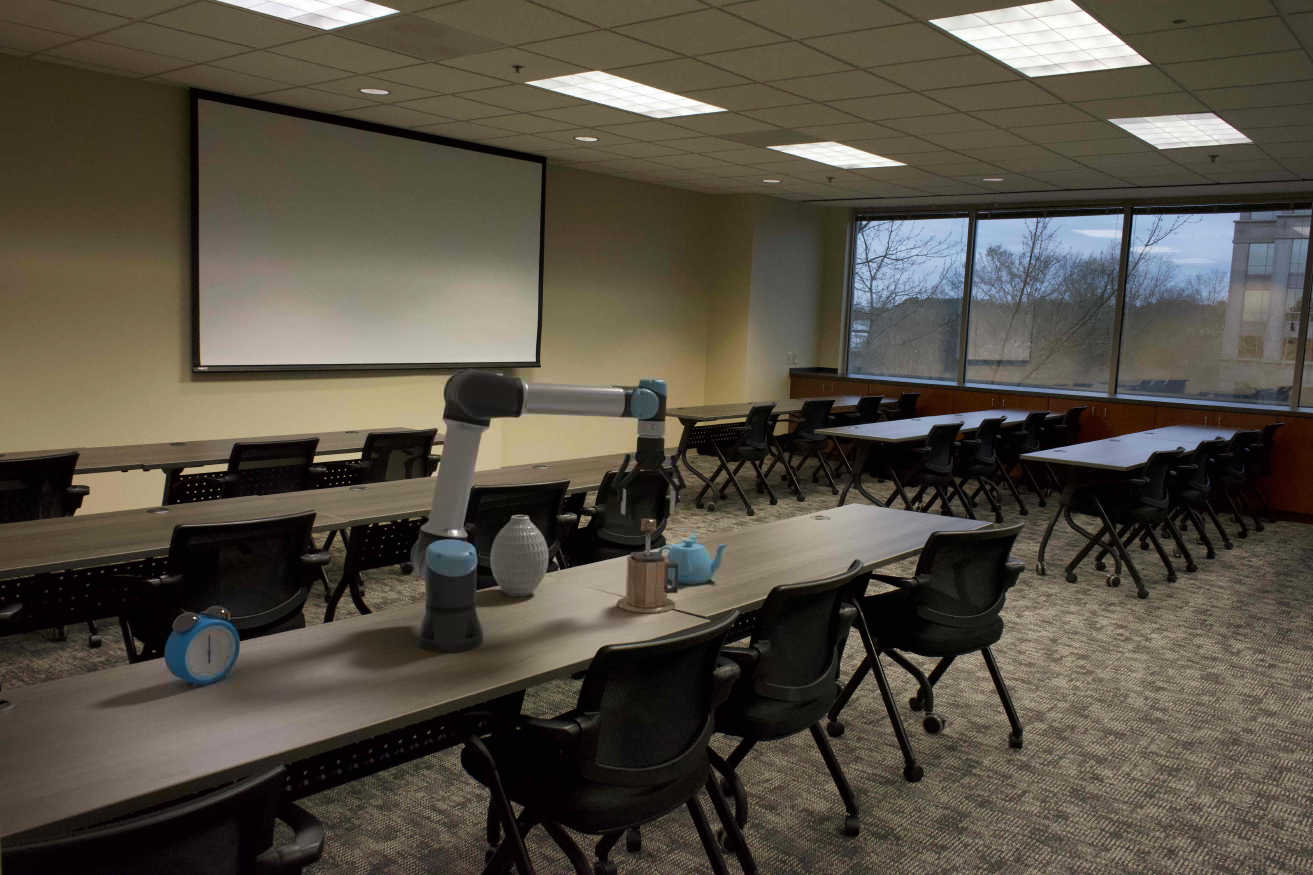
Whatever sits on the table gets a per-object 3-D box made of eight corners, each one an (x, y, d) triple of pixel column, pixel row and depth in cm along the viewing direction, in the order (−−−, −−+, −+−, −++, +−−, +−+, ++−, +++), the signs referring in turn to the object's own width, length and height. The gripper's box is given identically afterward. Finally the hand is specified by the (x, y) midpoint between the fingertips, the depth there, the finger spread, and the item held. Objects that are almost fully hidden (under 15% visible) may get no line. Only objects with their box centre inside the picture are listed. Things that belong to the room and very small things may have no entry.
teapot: (729, 581, 285) (731, 541, 283) (682, 589, 273) (683, 548, 272) (693, 569, 298) (695, 532, 297) (647, 577, 287) (648, 538, 286)
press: (622, 614, 246) (623, 562, 245) (613, 597, 262) (614, 549, 260) (682, 612, 249) (684, 561, 248) (670, 596, 265) (671, 548, 264)
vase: (486, 587, 269) (487, 511, 267) (541, 584, 274) (543, 510, 272) (494, 602, 253) (495, 522, 251) (552, 599, 258) (554, 520, 256)
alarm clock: (181, 694, 183) (179, 619, 181) (163, 687, 186) (161, 614, 185) (241, 675, 194) (240, 605, 193) (223, 669, 197) (222, 600, 196)
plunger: (635, 595, 251) (637, 522, 249) (631, 588, 258) (633, 517, 256) (662, 594, 252) (664, 522, 250) (657, 587, 260) (659, 517, 258)
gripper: (607, 436, 245) (604, 515, 247) (699, 438, 250) (695, 516, 252) (603, 433, 252) (600, 510, 254) (692, 436, 257) (689, 511, 259)
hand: (647, 513), depth 253 cm, fingers open, 13 cm apart
